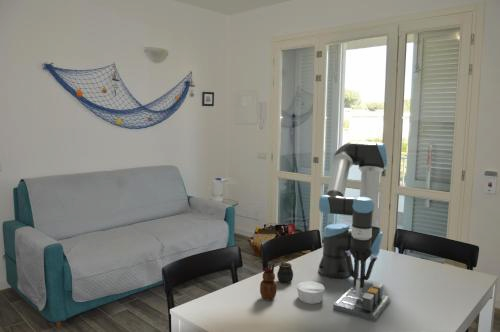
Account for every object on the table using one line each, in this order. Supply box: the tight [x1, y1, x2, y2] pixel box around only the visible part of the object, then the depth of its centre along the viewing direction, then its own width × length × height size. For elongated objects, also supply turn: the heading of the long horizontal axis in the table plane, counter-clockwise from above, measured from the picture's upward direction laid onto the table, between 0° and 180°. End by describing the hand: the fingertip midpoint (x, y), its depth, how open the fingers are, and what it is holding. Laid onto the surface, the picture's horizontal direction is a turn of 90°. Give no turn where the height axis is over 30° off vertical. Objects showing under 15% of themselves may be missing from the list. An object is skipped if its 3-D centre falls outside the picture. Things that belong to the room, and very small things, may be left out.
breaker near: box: [362, 293, 374, 311], centre depth 147 cm, size 3×4×5 cm
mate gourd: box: [276, 257, 294, 285], centre depth 176 cm, size 7×8×10 cm
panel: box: [332, 286, 391, 322], centre depth 155 cm, size 16×20×2 cm
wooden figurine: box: [259, 262, 278, 301], centre depth 158 cm, size 7×6×15 cm
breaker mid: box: [367, 286, 378, 305], centre depth 152 cm, size 3×4×5 cm
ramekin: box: [296, 280, 326, 305], centre depth 159 cm, size 11×11×5 cm
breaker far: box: [371, 282, 384, 299], centre depth 157 cm, size 3×4×5 cm
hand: (358, 294), depth 156 cm, fingers closed
